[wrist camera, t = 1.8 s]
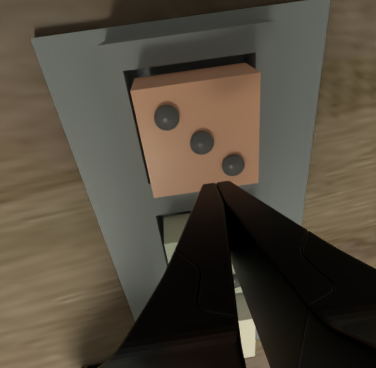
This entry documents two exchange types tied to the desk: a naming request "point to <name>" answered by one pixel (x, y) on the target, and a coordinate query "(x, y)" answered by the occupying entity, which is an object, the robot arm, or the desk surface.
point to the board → (169, 63)
